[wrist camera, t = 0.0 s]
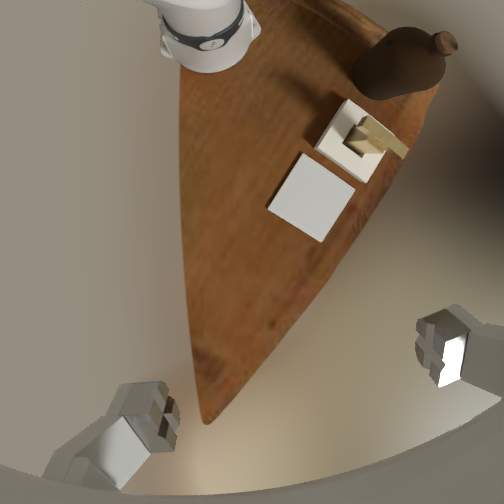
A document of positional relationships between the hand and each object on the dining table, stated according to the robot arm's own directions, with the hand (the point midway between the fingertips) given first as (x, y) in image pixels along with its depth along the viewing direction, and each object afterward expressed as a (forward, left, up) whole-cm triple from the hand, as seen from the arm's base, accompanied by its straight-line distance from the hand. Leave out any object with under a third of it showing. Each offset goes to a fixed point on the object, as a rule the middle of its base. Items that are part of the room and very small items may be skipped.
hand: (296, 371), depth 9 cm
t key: (-6, +21, -48) cm, 53 cm away
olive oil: (-18, +29, -48) cm, 59 cm away
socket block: (-6, +21, -48) cm, 53 cm away
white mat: (+3, +11, -48) cm, 49 cm away
